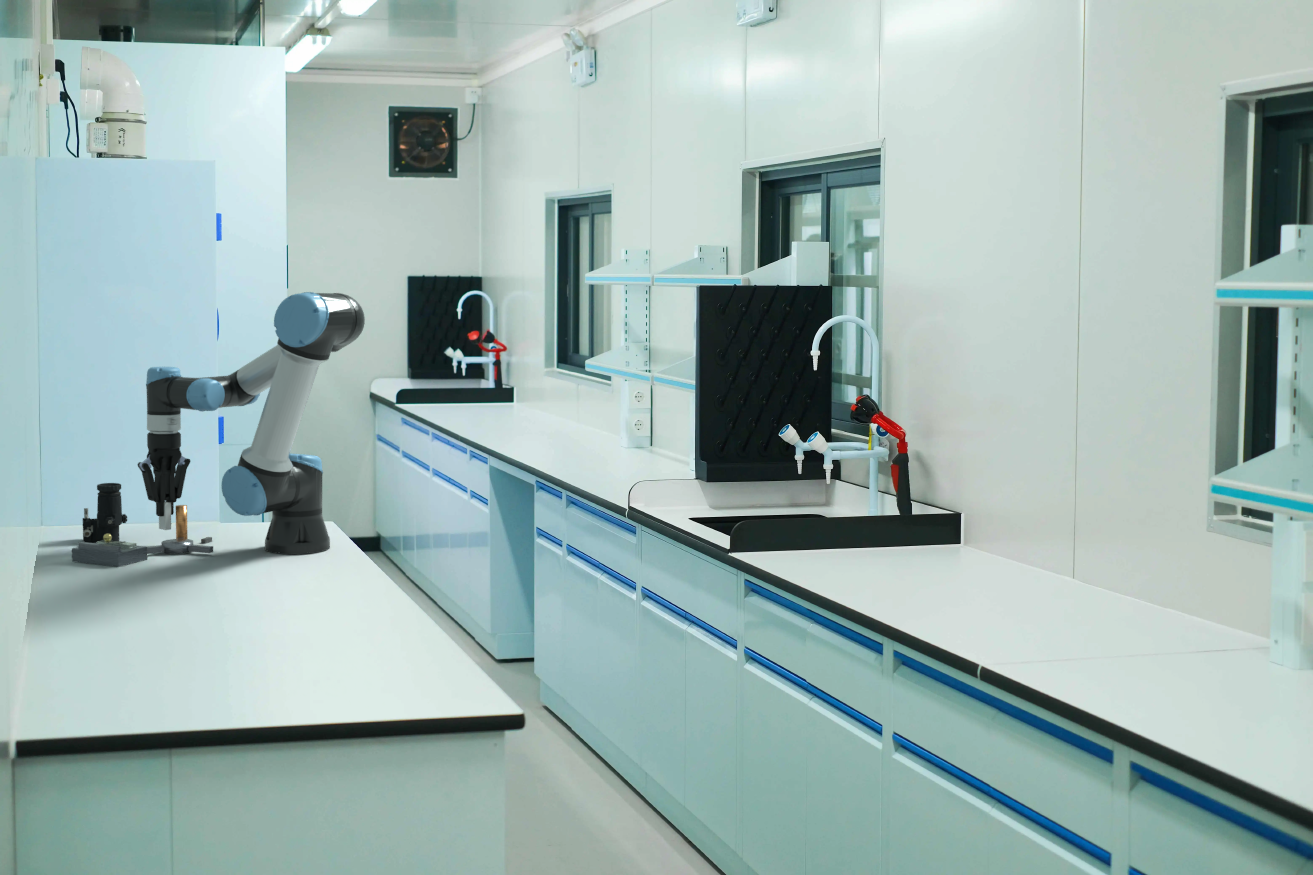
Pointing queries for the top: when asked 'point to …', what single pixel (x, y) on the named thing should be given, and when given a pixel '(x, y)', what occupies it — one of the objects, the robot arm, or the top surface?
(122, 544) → the level stand
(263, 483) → the robot arm
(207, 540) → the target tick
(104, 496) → the scope
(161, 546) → the capstan
